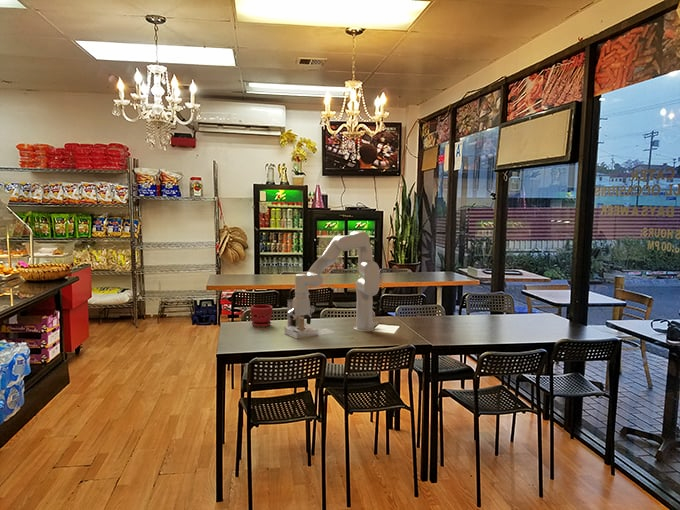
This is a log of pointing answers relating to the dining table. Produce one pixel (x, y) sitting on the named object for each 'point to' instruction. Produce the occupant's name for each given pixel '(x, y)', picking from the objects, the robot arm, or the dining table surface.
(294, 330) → the socket block
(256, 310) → the plant pot
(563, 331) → the dining table surface
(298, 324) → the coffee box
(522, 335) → the dining table surface
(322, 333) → the mat
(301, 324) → the peg
